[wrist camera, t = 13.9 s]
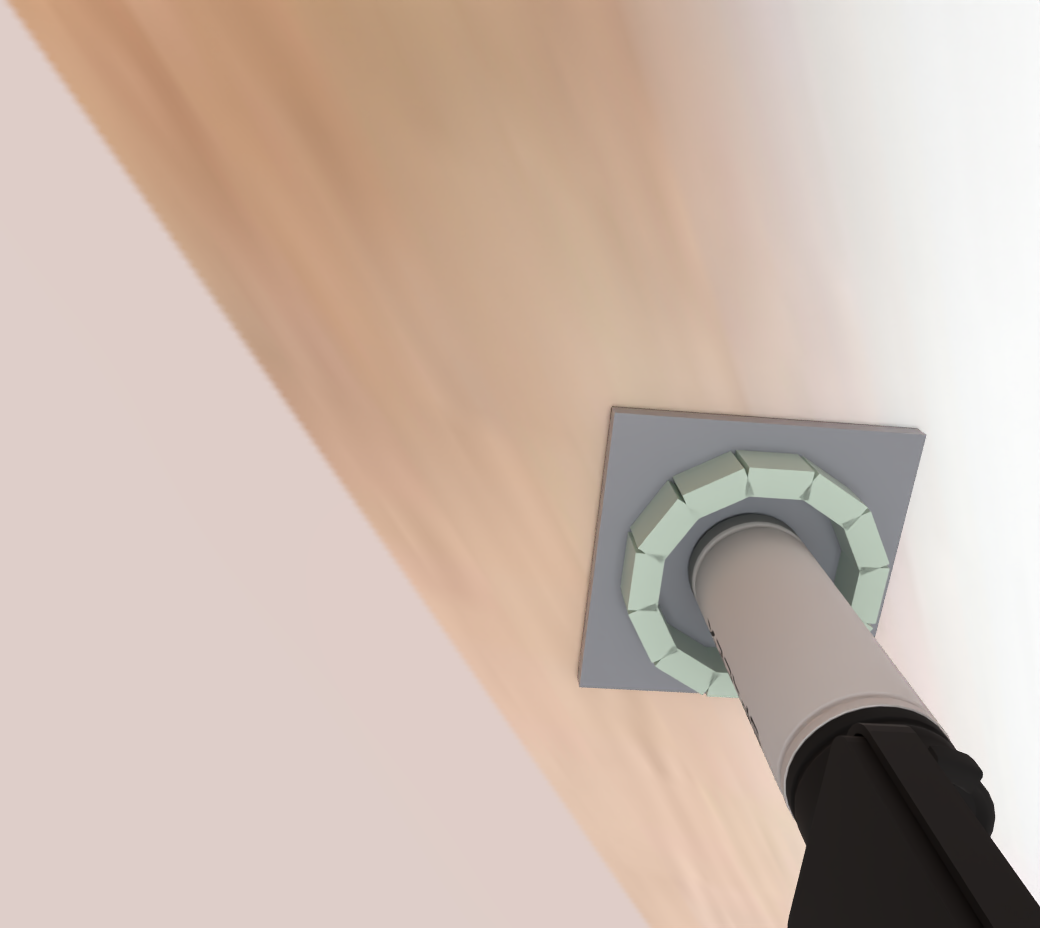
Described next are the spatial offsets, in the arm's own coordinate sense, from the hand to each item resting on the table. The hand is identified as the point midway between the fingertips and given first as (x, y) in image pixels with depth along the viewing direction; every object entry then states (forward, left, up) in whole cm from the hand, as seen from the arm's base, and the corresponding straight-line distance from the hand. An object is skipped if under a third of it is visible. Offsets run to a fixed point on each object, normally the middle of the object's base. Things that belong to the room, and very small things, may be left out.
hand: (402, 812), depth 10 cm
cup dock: (+14, +16, -36) cm, 42 cm away
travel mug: (+14, +16, -36) cm, 41 cm away
